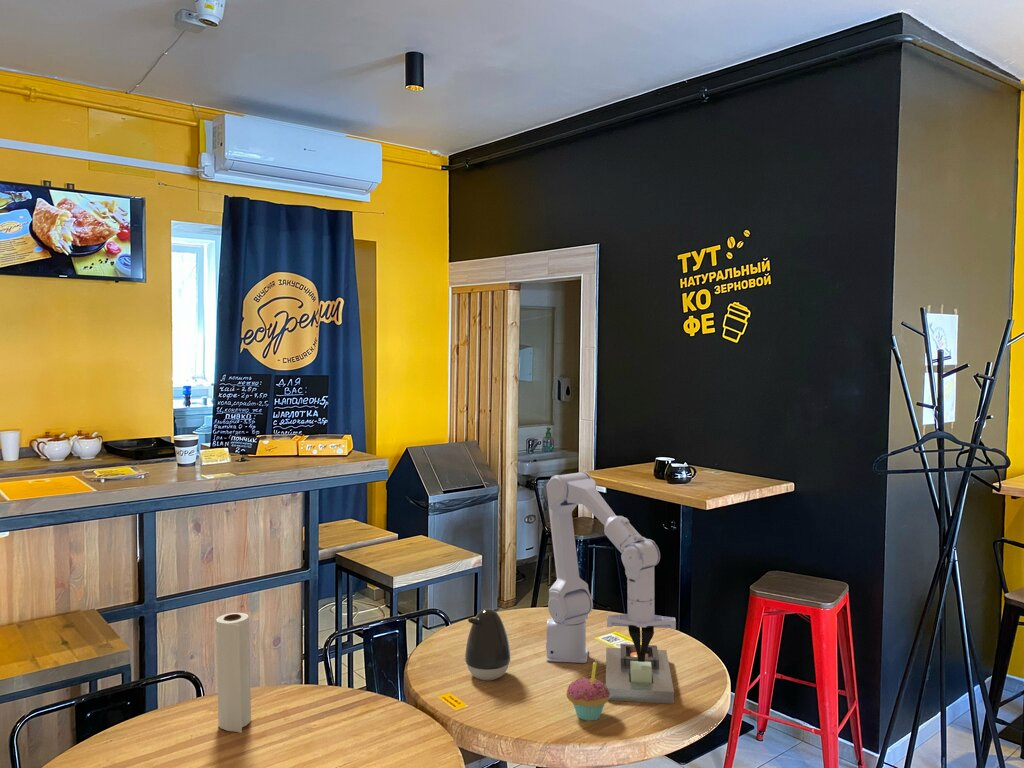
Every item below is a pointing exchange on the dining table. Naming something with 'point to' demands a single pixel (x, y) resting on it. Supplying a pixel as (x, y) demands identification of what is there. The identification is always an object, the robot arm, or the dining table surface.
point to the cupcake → (588, 696)
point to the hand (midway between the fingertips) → (641, 660)
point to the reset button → (636, 654)
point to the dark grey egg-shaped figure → (487, 646)
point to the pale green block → (640, 672)
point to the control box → (638, 692)
